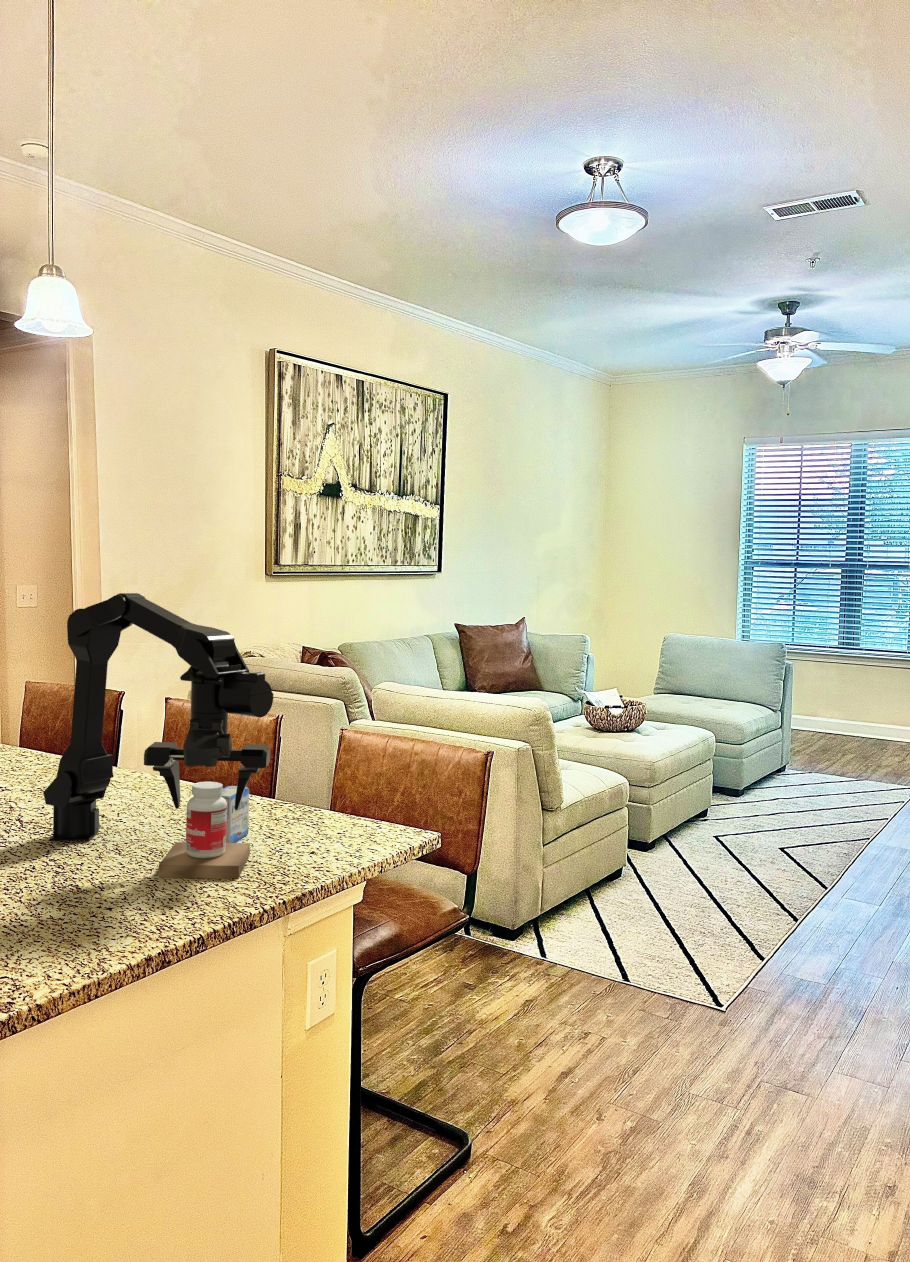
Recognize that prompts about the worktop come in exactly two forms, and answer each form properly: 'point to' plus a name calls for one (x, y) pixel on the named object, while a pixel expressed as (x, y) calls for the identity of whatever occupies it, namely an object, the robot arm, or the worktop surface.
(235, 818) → the medicine box
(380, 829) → the worktop surface
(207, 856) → the pill bottle
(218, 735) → the robot arm
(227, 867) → the walnut plinth
